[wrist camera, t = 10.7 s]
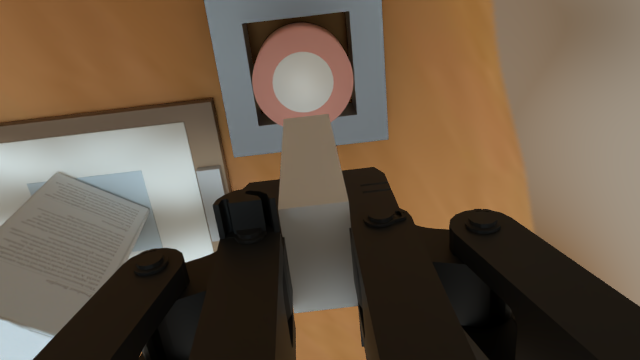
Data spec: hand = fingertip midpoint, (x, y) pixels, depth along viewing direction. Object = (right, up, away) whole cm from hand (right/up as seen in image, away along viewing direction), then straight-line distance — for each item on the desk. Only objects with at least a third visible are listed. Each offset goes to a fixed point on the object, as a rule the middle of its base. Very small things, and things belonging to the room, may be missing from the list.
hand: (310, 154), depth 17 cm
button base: (-1, +6, +12) cm, 14 cm away
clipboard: (-14, -3, +15) cm, 21 cm away
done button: (-1, +5, +10) cm, 12 cm away
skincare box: (-14, -3, +15) cm, 21 cm away
